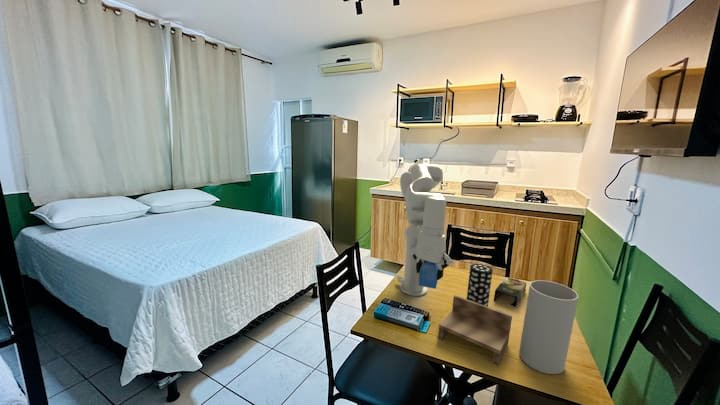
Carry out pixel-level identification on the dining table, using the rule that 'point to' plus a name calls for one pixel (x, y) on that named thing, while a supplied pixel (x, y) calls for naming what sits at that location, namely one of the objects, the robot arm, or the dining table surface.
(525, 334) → the cylinder vase
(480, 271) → the spotted tube
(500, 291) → the juice carton
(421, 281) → the perfume bottle
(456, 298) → the brown wooden bench
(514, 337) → the dining table surface
